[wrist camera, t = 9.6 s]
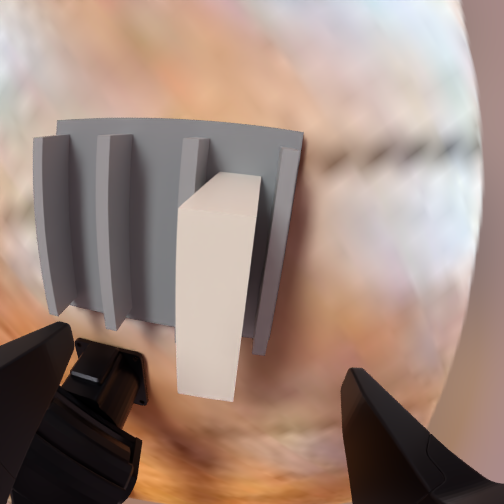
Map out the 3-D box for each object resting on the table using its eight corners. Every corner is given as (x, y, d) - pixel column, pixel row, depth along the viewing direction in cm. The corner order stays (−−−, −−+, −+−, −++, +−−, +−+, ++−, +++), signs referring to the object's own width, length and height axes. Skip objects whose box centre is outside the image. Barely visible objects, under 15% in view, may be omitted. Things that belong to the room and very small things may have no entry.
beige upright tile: (245, 299, 21) (233, 401, 12) (209, 294, 21) (177, 393, 12) (261, 176, 18) (256, 217, 9) (219, 171, 18) (177, 207, 9)
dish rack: (269, 333, 23) (269, 367, 19) (72, 299, 23) (48, 324, 19) (301, 132, 18) (310, 132, 14) (63, 120, 18) (29, 121, 14)
